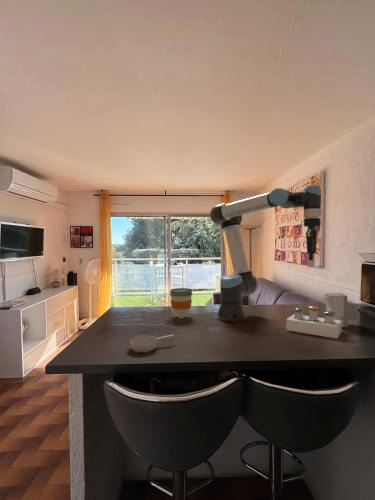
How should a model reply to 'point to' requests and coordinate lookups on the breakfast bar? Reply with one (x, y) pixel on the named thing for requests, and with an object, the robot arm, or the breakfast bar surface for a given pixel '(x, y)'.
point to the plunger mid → (313, 313)
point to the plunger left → (299, 313)
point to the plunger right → (329, 317)
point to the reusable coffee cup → (181, 302)
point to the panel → (314, 326)
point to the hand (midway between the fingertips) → (311, 266)
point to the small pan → (145, 343)
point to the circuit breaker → (341, 307)
